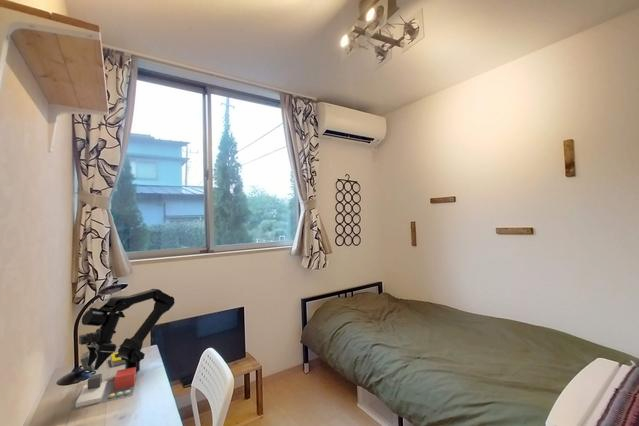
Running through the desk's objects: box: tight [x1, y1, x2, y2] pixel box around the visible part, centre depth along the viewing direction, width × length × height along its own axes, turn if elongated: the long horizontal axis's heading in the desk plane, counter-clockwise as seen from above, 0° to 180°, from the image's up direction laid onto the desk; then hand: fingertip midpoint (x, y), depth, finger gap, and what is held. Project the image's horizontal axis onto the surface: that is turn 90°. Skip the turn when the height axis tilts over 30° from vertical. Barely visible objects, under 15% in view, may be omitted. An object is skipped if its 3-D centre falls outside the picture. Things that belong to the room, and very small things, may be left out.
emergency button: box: [109, 351, 125, 369], centre depth 150 cm, size 9×4×15 cm
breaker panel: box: [70, 378, 137, 411], centre depth 119 cm, size 17×19×3 cm
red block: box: [114, 367, 137, 390], centre depth 125 cm, size 7×7×5 cm
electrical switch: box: [80, 350, 98, 373], centre depth 139 cm, size 9×5×9 cm, turn 32°
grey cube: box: [87, 373, 103, 389], centre depth 120 cm, size 4×4×4 cm
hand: (92, 367), depth 121 cm, fingers open, 9 cm apart
